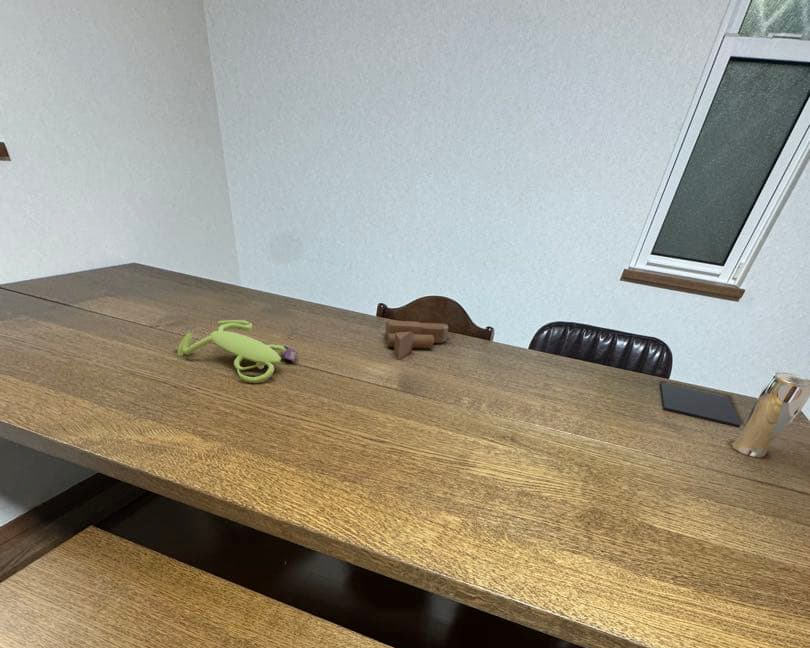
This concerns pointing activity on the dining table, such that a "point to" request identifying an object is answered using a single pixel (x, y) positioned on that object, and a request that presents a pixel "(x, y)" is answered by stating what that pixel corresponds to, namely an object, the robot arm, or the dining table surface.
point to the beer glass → (772, 413)
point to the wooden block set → (413, 336)
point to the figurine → (241, 348)
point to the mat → (698, 404)
